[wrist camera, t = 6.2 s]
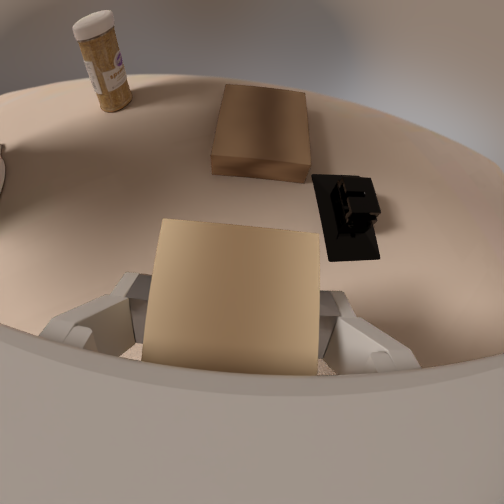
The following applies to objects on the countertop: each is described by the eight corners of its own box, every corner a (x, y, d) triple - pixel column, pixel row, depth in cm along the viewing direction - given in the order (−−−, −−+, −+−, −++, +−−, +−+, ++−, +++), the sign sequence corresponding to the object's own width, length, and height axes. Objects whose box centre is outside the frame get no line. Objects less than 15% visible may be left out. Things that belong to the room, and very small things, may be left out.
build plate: (300, 165, 29) (310, 137, 25) (362, 168, 30) (378, 143, 26) (320, 282, 25) (337, 265, 21) (389, 276, 26) (415, 260, 21)
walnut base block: (212, 174, 27) (210, 155, 25) (225, 103, 31) (225, 84, 29) (303, 183, 28) (311, 165, 25) (300, 111, 32) (305, 92, 29)
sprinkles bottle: (132, 108, 31) (108, 17, 18) (98, 117, 30) (67, 32, 17) (133, 88, 32) (114, 5, 19) (102, 96, 31) (76, 17, 19)
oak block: (179, 369, 13) (139, 380, 6) (189, 280, 15) (162, 218, 8) (272, 376, 13) (315, 395, 7) (277, 288, 15) (319, 233, 8)
